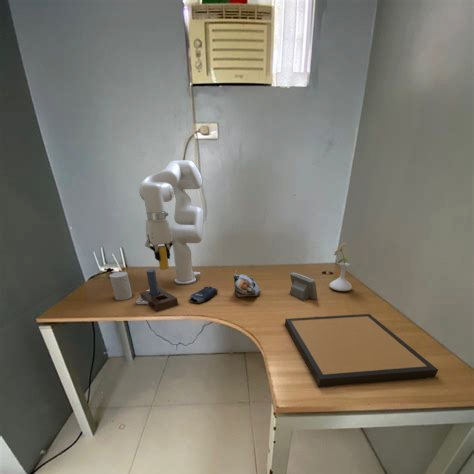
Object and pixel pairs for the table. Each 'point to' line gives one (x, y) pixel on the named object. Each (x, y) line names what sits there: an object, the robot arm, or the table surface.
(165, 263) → the mustard peg
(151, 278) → the blue peg
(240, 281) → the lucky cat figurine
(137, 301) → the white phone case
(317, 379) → the cork board
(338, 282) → the flower in vase
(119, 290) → the cup
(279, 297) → the table surface
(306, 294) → the digital clock
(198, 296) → the electronic device
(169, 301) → the stand
